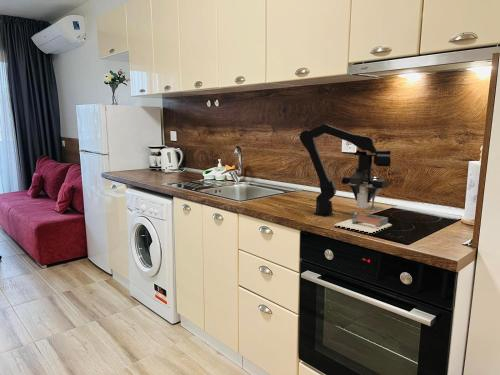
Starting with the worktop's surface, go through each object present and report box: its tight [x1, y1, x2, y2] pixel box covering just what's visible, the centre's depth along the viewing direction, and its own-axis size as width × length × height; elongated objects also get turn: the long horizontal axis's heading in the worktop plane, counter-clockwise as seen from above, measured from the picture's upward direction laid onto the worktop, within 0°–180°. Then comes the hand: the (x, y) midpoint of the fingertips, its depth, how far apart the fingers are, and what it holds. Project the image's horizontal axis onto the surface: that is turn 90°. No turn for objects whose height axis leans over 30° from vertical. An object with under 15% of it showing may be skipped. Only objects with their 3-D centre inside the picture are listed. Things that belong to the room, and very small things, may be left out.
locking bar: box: [351, 211, 381, 226], centre depth 145 cm, size 12×2×4 cm, turn 43°
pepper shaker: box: [356, 185, 369, 209], centre depth 159 cm, size 4×4×10 cm
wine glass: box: [364, 176, 384, 211], centre depth 177 cm, size 8×8×15 cm
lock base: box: [334, 213, 393, 234], centre depth 148 cm, size 16×17×3 cm
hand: (362, 201), depth 160 cm, fingers closed on pepper shaker, 5 cm apart
